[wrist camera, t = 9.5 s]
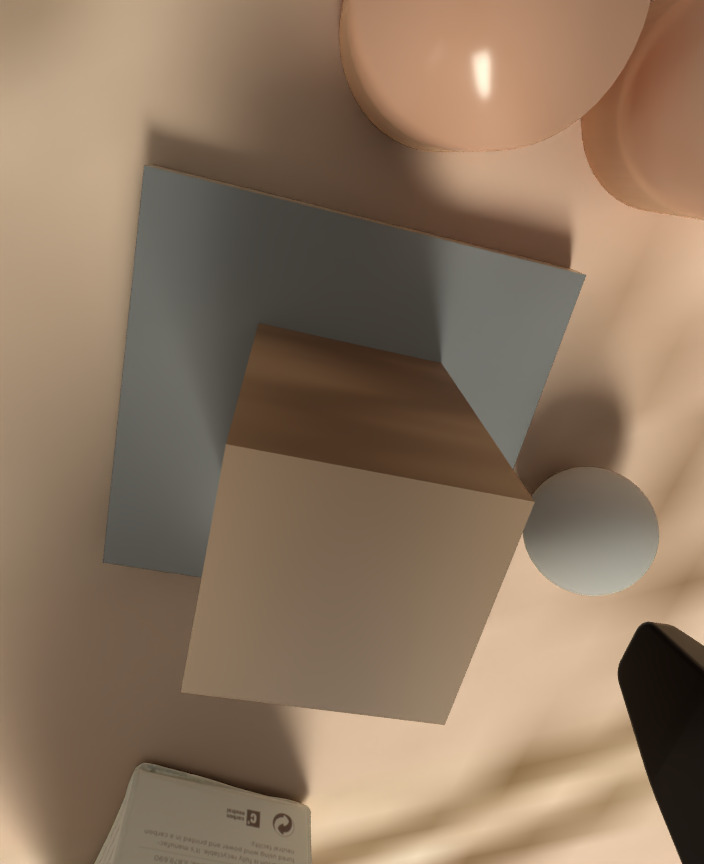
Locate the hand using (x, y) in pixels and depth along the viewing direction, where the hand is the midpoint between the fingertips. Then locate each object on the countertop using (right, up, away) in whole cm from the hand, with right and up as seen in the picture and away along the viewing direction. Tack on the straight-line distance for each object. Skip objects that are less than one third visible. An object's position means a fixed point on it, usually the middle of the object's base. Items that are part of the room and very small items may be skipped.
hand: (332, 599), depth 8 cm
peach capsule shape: (+2, +10, +3) cm, 11 cm away
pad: (0, +3, +6) cm, 7 cm away
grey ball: (+6, 0, +8) cm, 10 cm away
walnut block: (0, +2, +6) cm, 6 cm away
